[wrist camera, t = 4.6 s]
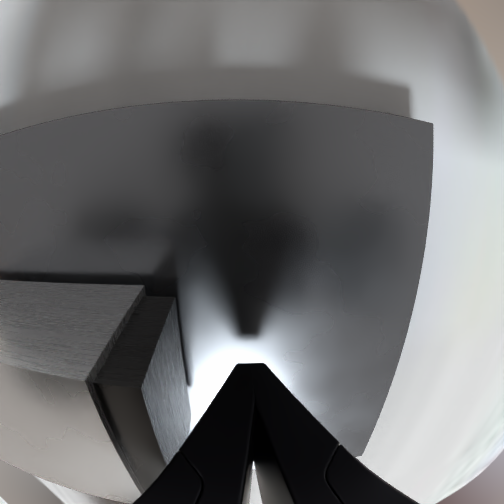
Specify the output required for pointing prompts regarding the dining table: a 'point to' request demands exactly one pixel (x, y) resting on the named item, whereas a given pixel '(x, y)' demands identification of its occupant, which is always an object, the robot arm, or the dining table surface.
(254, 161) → the gauge board
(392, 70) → the dining table surface
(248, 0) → the dining table surface
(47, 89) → the dining table surface
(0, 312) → the threaded rod block
